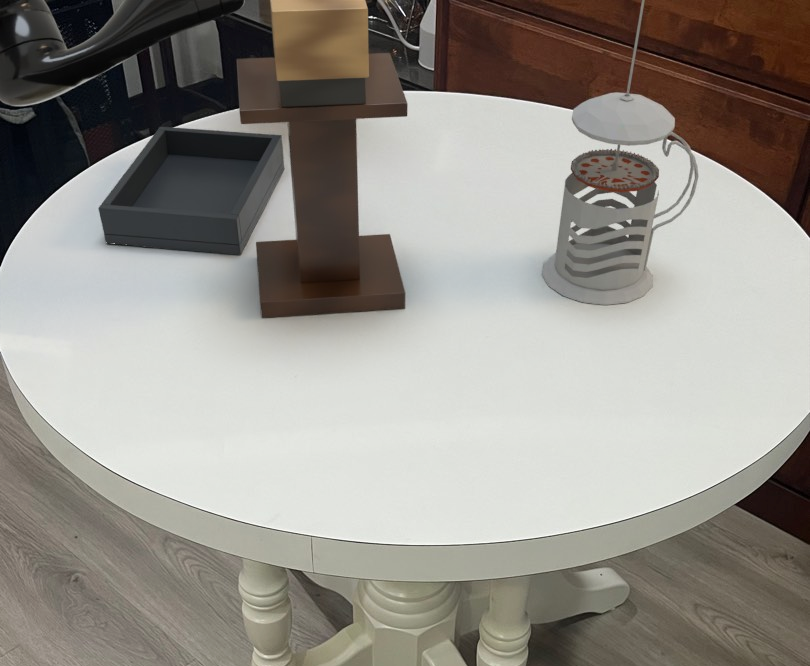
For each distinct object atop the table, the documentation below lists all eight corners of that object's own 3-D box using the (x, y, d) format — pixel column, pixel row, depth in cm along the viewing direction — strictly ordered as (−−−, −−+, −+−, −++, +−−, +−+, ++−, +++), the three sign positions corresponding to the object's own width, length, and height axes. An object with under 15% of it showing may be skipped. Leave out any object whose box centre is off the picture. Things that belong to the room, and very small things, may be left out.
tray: (240, 255, 89) (236, 218, 87) (105, 244, 90) (97, 208, 88) (284, 168, 102) (282, 134, 99) (165, 160, 103) (159, 126, 100)
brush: (279, 110, 70) (269, -14, 64) (270, 19, 83) (261, -91, 78) (369, 106, 71) (367, -17, 65) (345, 16, 84) (342, -93, 78)
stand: (261, 318, 82) (239, 110, 70) (257, 256, 89) (236, 58, 77) (405, 308, 83) (407, 102, 71) (389, 248, 90) (389, 52, 78)
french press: (536, 246, 91) (572, -64, 73) (662, 247, 91) (729, -62, 73) (547, 304, 84) (589, -23, 66) (683, 305, 84) (762, -20, 66)
